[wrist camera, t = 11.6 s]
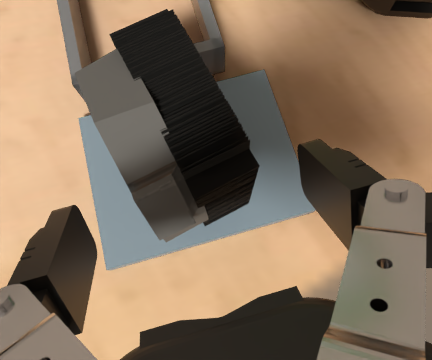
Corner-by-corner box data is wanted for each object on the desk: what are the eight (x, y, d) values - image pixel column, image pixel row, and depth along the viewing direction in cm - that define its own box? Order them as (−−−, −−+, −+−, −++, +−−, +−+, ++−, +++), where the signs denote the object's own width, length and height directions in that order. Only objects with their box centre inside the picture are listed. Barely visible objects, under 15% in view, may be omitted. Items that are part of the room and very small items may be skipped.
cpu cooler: (113, 124, 25) (42, 24, 15) (185, 90, 26) (160, -27, 16) (176, 255, 22) (138, 234, 13) (254, 214, 23) (276, 163, 13)
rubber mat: (263, 75, 27) (264, 69, 26) (313, 212, 24) (316, 209, 23) (82, 123, 26) (78, 118, 25) (110, 270, 23) (106, 269, 22)
